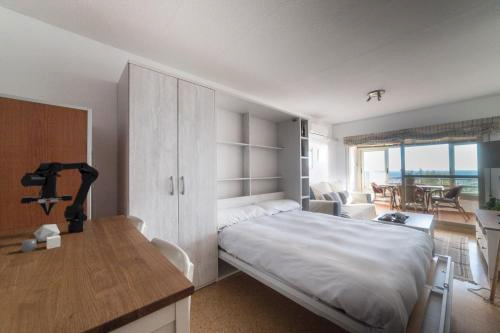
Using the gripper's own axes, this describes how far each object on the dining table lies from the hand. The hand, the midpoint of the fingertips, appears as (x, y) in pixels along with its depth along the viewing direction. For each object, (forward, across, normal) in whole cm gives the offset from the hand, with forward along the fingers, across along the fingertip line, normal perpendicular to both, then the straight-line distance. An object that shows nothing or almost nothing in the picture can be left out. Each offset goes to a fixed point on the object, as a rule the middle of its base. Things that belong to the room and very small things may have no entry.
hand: (47, 215), depth 105 cm
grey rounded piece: (+13, +4, +14) cm, 20 cm away
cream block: (+13, -4, +14) cm, 20 cm away
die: (+13, 0, 0) cm, 13 cm away
